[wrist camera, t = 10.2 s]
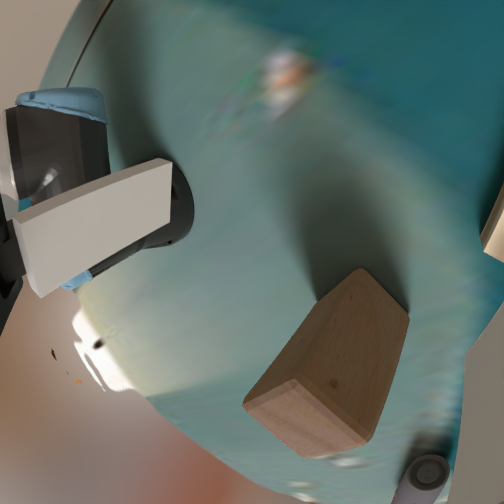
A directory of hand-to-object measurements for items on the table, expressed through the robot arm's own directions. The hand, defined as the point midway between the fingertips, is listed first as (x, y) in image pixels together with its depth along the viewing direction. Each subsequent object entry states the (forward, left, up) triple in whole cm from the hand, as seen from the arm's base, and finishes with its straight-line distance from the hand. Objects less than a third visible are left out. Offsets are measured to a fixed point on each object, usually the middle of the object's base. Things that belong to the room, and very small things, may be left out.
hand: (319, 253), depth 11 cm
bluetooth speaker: (+34, -53, -26) cm, 68 cm away
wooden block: (+3, -21, -26) cm, 34 cm away
